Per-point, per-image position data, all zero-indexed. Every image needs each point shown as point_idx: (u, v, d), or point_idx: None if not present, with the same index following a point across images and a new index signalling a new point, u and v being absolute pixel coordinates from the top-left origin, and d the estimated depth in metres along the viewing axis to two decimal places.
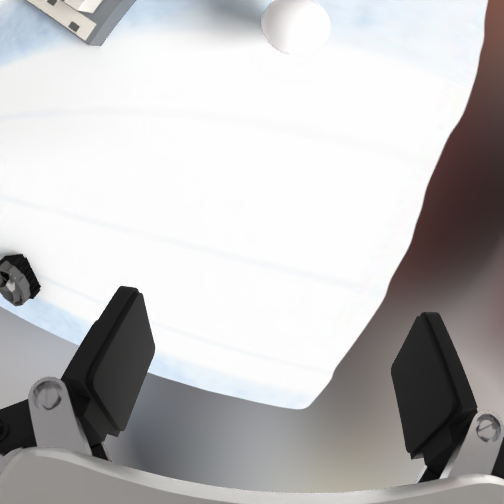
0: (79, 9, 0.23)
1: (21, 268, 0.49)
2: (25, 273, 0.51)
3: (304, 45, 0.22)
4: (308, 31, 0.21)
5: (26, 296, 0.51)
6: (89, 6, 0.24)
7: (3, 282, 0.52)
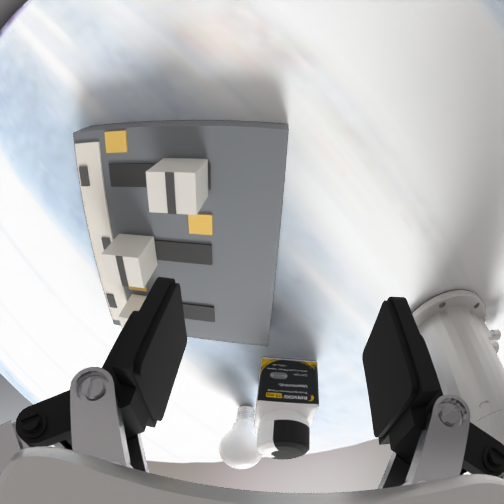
0: None
1: None
2: None
3: None
4: None
5: None
6: None
7: None
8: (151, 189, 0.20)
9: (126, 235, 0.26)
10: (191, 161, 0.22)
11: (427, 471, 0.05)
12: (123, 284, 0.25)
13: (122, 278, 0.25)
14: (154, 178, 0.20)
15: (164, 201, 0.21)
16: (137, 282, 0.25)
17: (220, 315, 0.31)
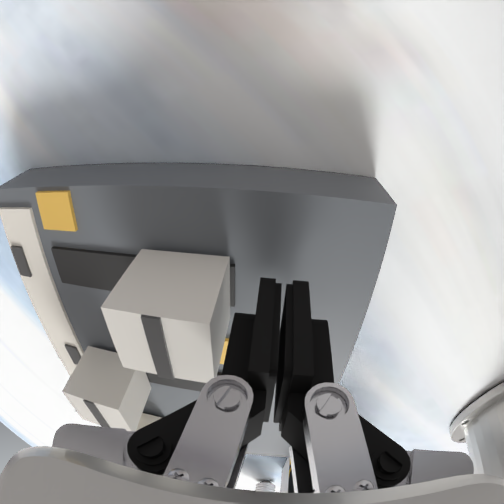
0: None
1: None
2: None
3: None
4: None
5: None
6: None
7: None
8: (119, 336, 0.09)
9: (98, 351, 0.15)
10: (197, 266, 0.11)
11: (331, 475, 0.05)
12: (104, 425, 0.14)
13: (101, 420, 0.14)
14: (121, 321, 0.09)
15: (149, 358, 0.10)
16: None
17: None
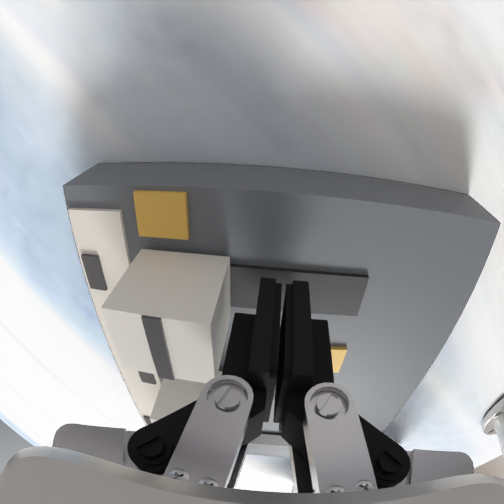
0: None
1: None
2: None
3: None
4: None
5: None
6: None
7: None
8: (119, 337, 0.09)
9: None
10: (197, 266, 0.11)
11: (331, 475, 0.05)
12: None
13: None
14: (121, 321, 0.09)
15: (149, 358, 0.10)
16: None
17: None
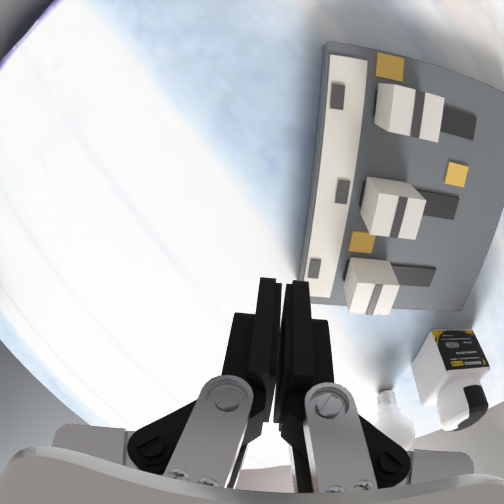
0: None
1: None
2: None
3: None
4: None
5: None
6: None
7: None
8: (397, 105, 0.15)
9: (379, 178, 0.21)
10: None
11: (331, 475, 0.05)
12: (391, 235, 0.20)
13: (394, 227, 0.19)
14: (403, 94, 0.15)
15: (409, 121, 0.16)
16: (411, 232, 0.19)
17: (436, 278, 0.25)
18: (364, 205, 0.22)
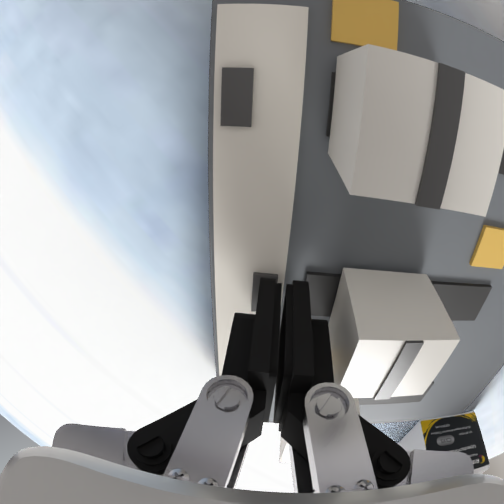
0: None
1: None
2: None
3: None
4: None
5: None
6: None
7: None
8: (380, 110, 0.05)
9: (367, 273, 0.11)
10: None
11: (331, 475, 0.05)
12: (378, 396, 0.09)
13: (384, 385, 0.09)
14: (398, 74, 0.05)
15: (416, 161, 0.05)
16: (417, 387, 0.09)
17: (433, 390, 0.15)
18: (334, 323, 0.11)
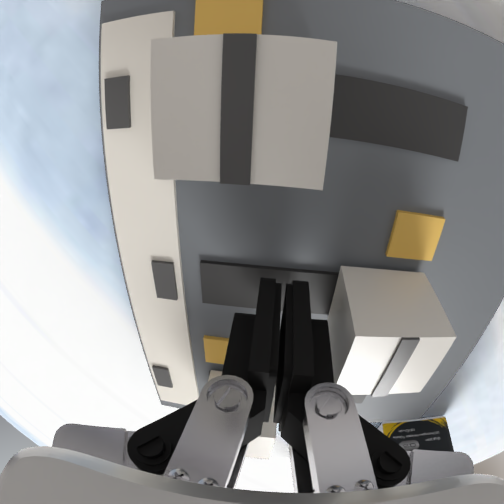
0: None
1: None
2: None
3: None
4: None
5: None
6: None
7: None
8: (166, 97, 0.05)
9: (364, 271, 0.11)
10: None
11: (331, 475, 0.05)
12: (375, 393, 0.10)
13: (381, 382, 0.09)
14: (180, 58, 0.05)
15: (211, 138, 0.06)
16: (414, 384, 0.09)
17: None
18: (332, 321, 0.11)
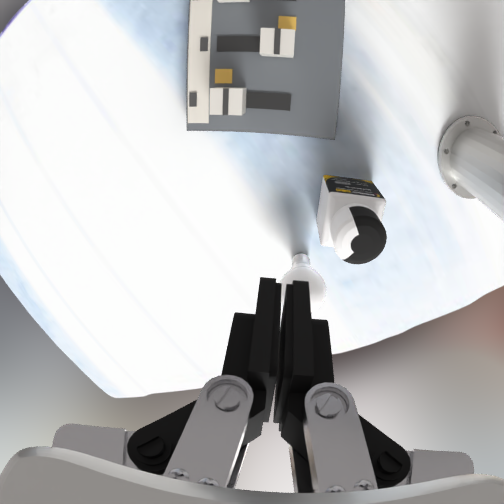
0: None
1: None
2: None
3: None
4: None
5: None
6: None
7: None
8: None
9: None
10: None
11: (331, 475, 0.05)
12: (275, 53, 0.27)
13: (275, 47, 0.27)
14: None
15: None
16: (289, 50, 0.27)
17: (295, 104, 0.33)
18: None
